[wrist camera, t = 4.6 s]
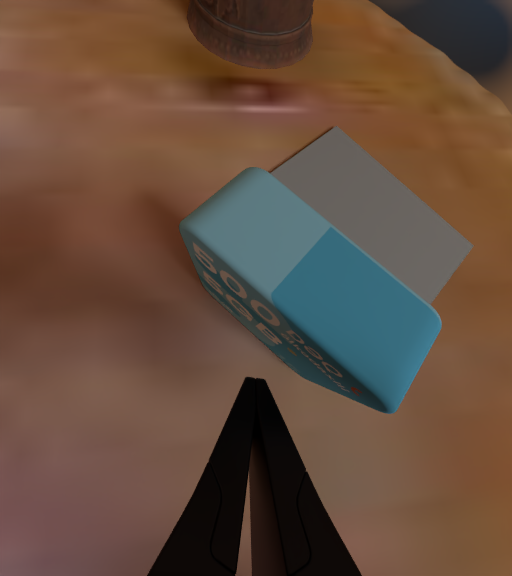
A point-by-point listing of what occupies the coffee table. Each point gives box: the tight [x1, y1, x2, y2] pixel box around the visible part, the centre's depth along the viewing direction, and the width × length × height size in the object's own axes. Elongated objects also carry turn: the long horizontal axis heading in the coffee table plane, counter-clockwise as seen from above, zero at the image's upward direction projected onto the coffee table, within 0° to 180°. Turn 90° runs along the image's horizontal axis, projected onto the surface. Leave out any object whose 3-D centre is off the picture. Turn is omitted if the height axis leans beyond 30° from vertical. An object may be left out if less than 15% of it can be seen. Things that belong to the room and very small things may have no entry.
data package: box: [179, 167, 442, 414], centre depth 14 cm, size 12×4×12 cm, turn 48°
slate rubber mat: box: [270, 126, 473, 304], centre depth 23 cm, size 22×20×1 cm
